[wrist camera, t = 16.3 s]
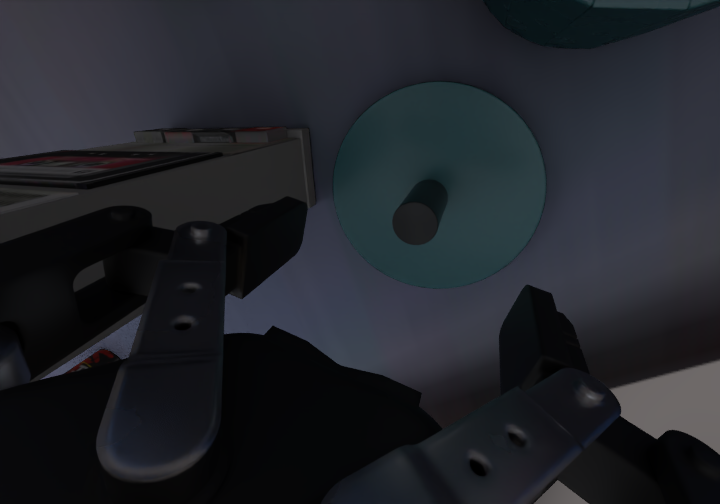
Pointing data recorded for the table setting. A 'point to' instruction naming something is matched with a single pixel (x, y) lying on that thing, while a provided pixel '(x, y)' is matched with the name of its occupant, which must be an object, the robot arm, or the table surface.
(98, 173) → the cassette tape recorder
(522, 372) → the robot arm
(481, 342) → the table surface
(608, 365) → the table surface
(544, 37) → the tin
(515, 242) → the tin lid
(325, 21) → the table surface
